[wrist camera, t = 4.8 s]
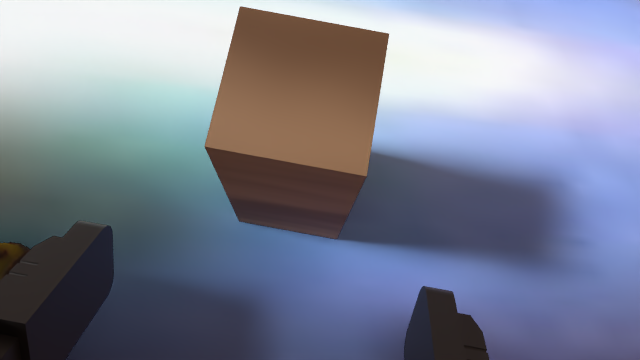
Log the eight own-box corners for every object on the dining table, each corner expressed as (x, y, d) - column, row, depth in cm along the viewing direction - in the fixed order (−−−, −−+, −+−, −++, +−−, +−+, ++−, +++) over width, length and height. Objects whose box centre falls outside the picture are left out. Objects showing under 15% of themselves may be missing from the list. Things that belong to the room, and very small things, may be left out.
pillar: (336, 239, 24) (366, 176, 14) (239, 221, 24) (204, 146, 14) (352, 147, 25) (389, 33, 16) (259, 130, 25) (240, 6, 16)
